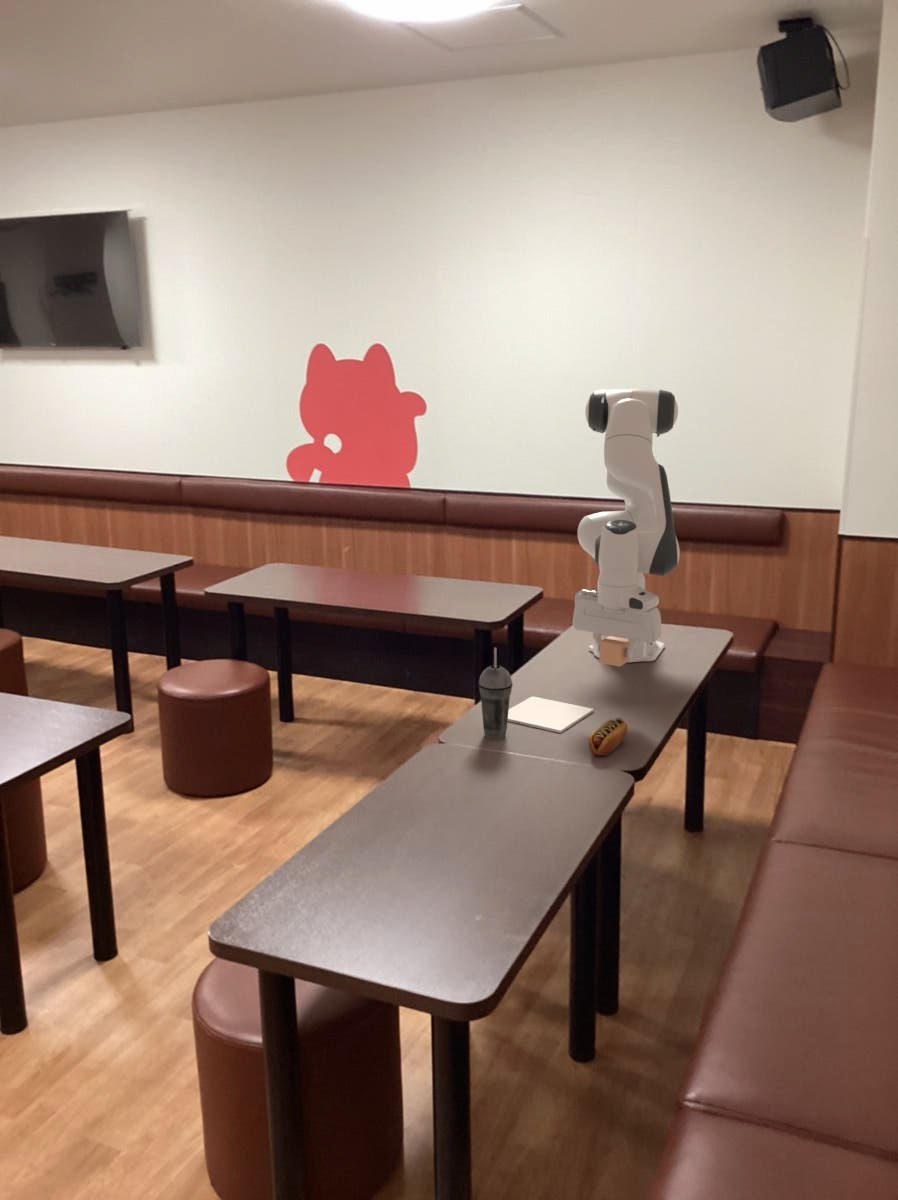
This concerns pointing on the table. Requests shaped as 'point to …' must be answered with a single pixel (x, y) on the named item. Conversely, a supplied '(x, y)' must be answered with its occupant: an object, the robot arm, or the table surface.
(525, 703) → the mat
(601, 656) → the cube
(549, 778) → the table surface
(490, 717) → the beverage cup
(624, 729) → the hot dog
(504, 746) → the table surface
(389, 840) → the table surface
